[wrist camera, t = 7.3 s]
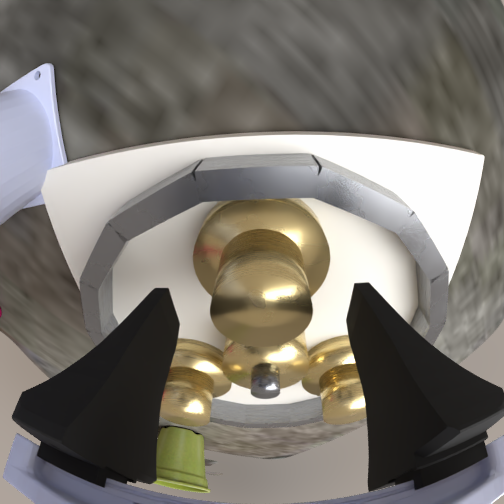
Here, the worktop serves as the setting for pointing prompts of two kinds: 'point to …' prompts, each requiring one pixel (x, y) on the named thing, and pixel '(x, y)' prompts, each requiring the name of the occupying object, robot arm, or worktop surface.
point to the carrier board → (330, 217)
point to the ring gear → (264, 187)
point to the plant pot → (181, 460)
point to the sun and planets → (262, 377)
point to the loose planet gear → (261, 268)
